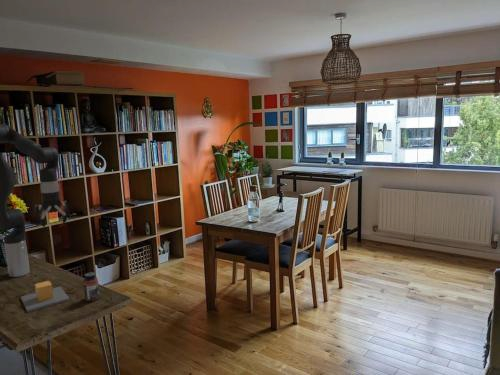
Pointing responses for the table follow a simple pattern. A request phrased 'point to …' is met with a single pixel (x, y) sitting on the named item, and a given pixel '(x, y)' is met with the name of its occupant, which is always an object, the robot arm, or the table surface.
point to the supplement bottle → (91, 287)
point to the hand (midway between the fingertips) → (54, 224)
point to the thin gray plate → (33, 303)
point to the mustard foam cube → (44, 290)
